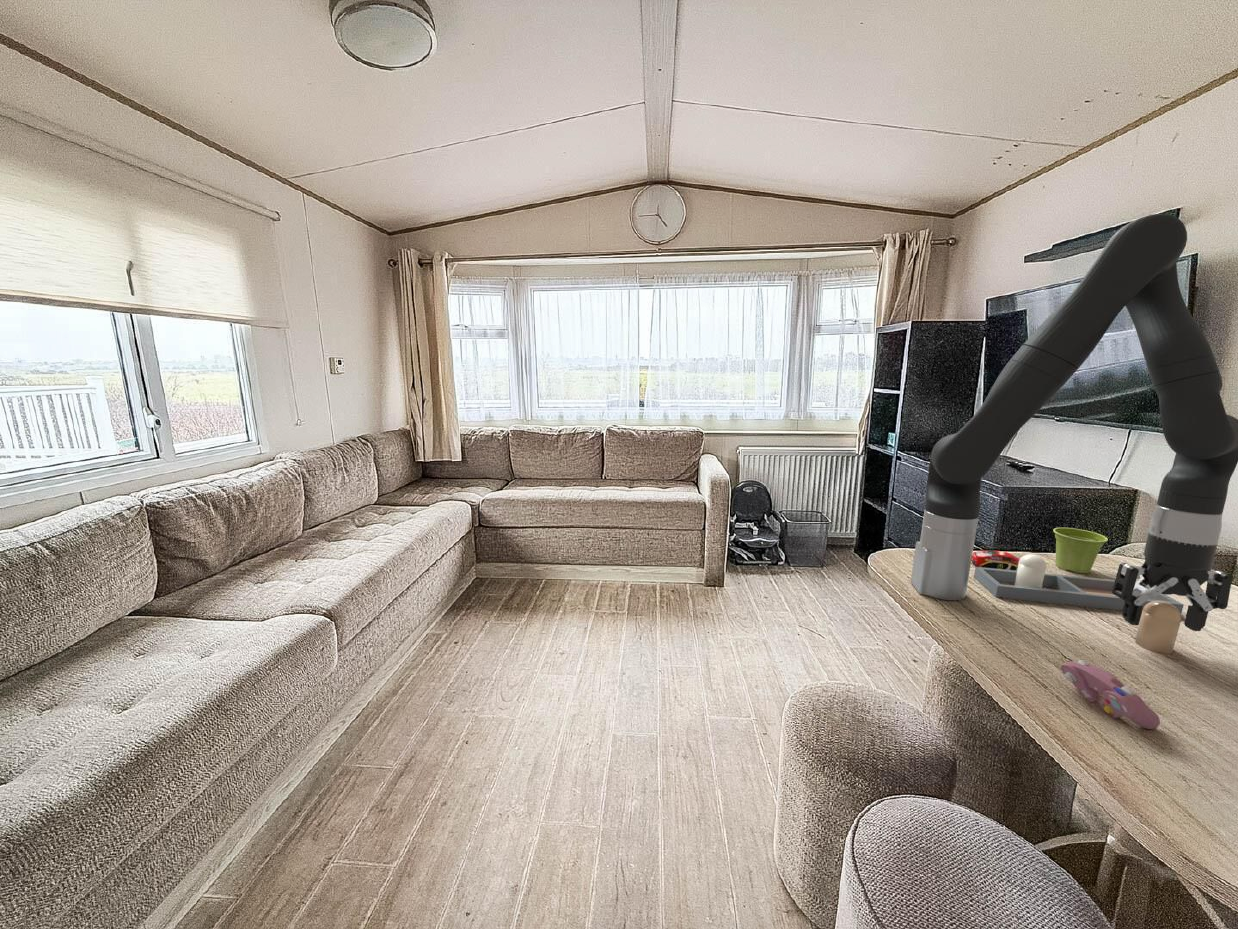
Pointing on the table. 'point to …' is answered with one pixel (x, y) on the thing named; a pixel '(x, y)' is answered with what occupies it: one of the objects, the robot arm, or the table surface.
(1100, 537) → the plant pot
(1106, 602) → the divided rectangular frame
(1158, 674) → the table surface
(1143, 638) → the beige capsule
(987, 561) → the race car
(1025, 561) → the white capsule
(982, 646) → the table surface
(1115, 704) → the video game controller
